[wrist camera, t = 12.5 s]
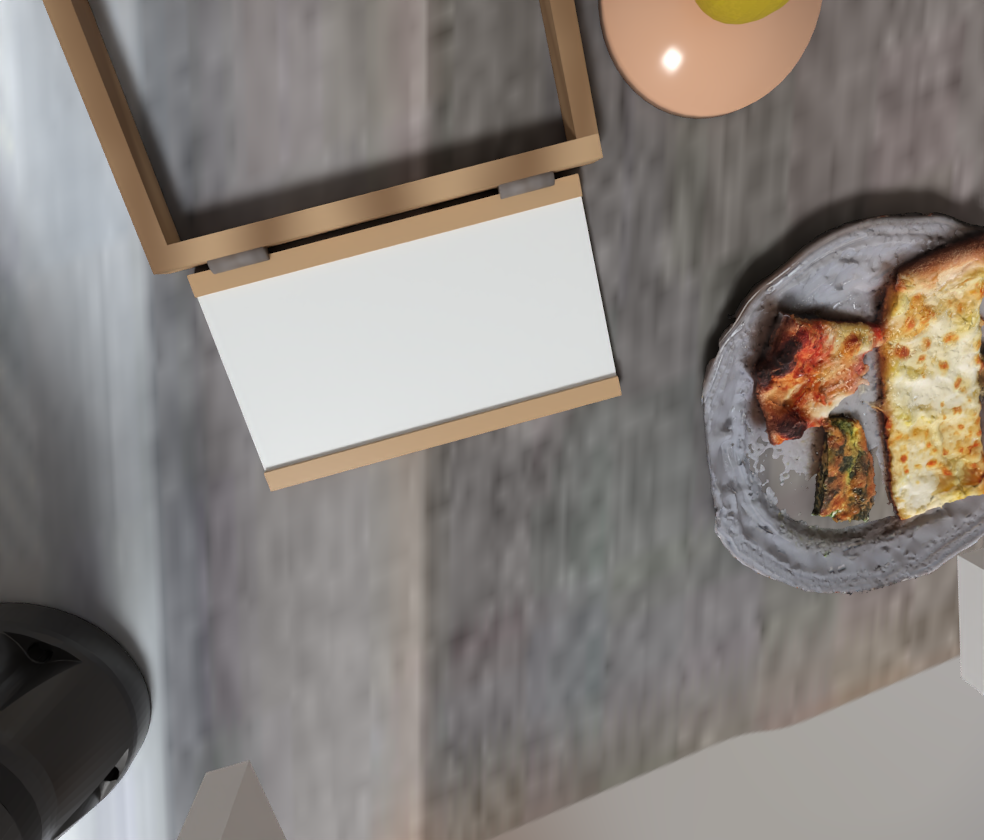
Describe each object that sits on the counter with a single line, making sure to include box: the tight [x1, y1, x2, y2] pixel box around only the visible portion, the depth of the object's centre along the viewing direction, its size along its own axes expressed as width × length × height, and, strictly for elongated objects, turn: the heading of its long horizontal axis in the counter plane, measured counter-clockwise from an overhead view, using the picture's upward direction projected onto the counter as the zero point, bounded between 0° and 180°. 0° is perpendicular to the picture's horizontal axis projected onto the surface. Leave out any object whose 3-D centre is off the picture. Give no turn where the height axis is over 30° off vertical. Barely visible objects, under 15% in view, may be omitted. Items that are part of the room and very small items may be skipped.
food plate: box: [701, 212, 984, 595], centre depth 38 cm, size 25×23×4 cm
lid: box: [187, 174, 621, 491], centre depth 35 cm, size 22×13×1 cm, turn 104°
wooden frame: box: [43, 0, 603, 274], centre depth 30 cm, size 24×16×2 cm, turn 104°
